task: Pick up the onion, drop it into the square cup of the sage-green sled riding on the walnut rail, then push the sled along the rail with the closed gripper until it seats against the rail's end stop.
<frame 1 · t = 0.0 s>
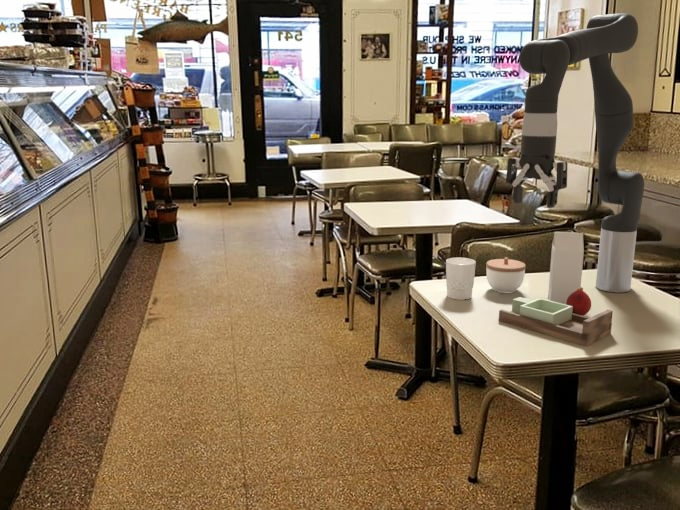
hand: (534, 205, 156), 29 cm above the table, tool pointing down, fingers open, 8 cm apart
onion: (577, 319, 168), on the table
milk carton: (562, 303, 180), on the table
sled: (538, 310, 164), point 3 cm above the table, slide at 0.0 cm
white cup: (459, 297, 185), on the table
lidded jar: (504, 290, 191), on the table
rail: (553, 326, 162), on the table
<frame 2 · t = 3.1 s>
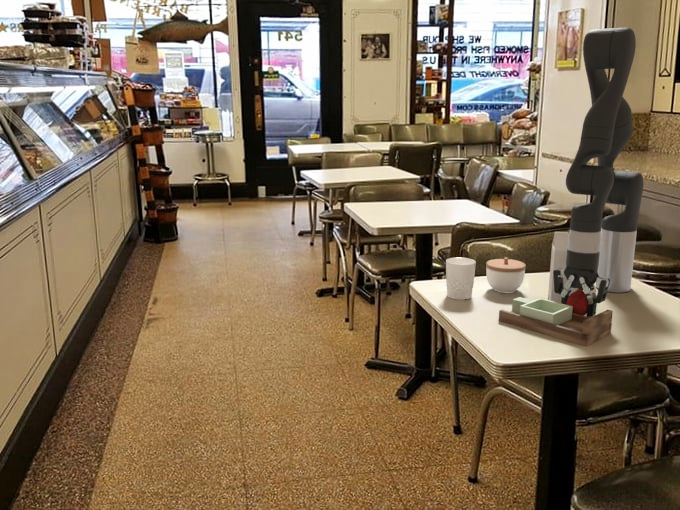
hand: (577, 314, 168), 1 cm above the table, tool pointing down, fingers closed on onion, 6 cm apart
onion: (577, 319, 168), on the table, touching gripper
everything else where it was.
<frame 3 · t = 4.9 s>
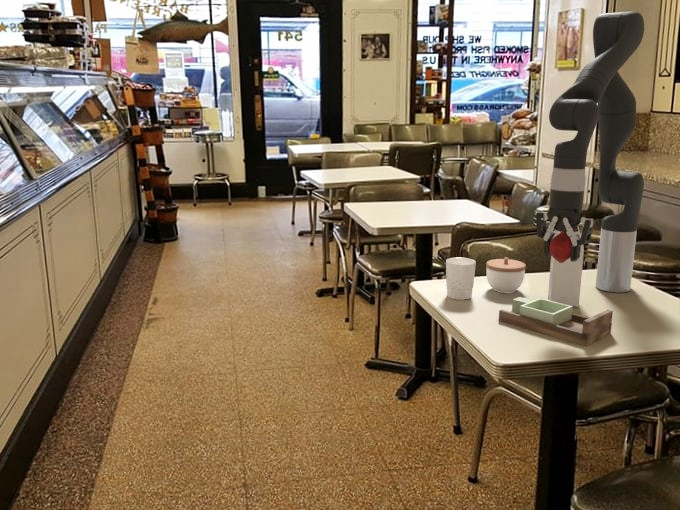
hand: (560, 258, 160), 16 cm above the table, tool pointing down, fingers closed on onion, 6 cm apart
onion: (560, 263, 161), point 15 cm above the table, touching gripper
everything else where it was.
when the fingers open (5 cm above the table, at t = 6.8 s): onion drops 2 cm, resting on sled.
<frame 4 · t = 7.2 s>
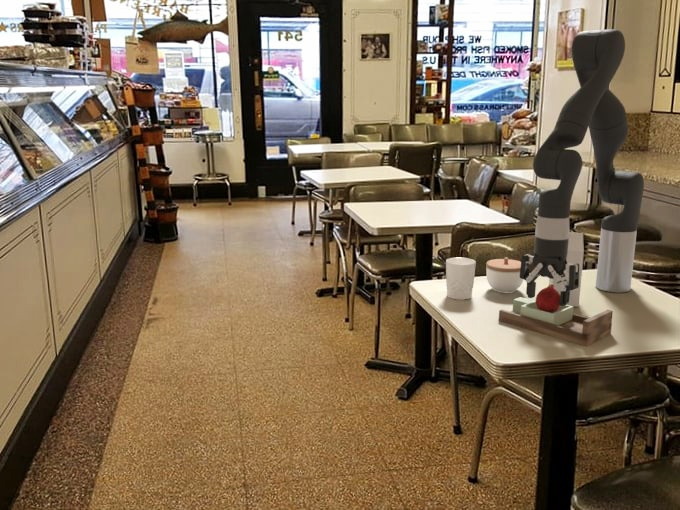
hand: (546, 301, 162), 6 cm above the table, tool pointing down, fingers open, 8 cm apart
onion: (546, 315, 163), point 2 cm above the table, touching sled
sled: (539, 310, 164), point 3 cm above the table, slide at 0.2 cm, touching onion
everything else where it was.
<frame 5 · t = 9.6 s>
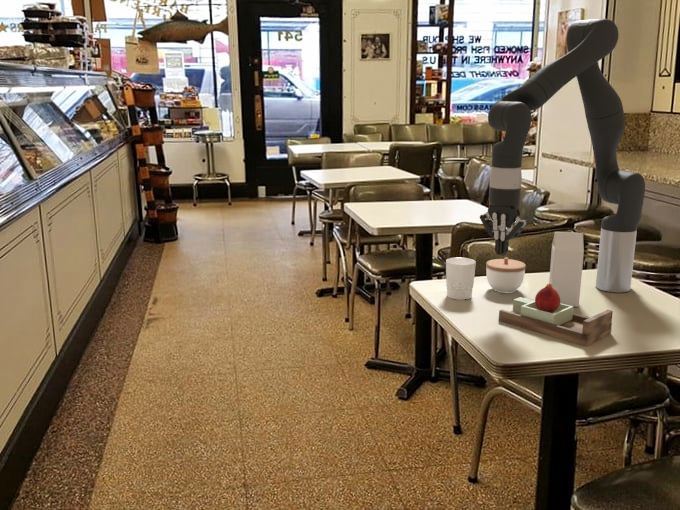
hand: (501, 254, 169), 15 cm above the table, tool pointing down, fingers closed
nothing on the table moved.
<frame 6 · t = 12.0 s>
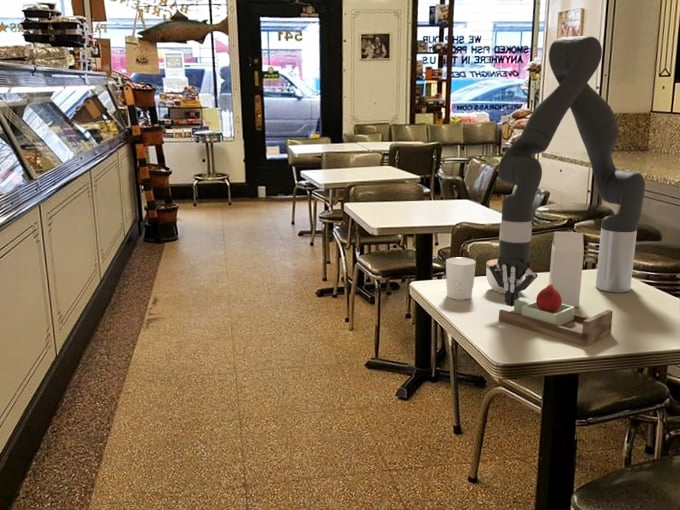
hand: (510, 305, 170), 2 cm above the table, tool pointing down, fingers closed
sled: (540, 310, 164), point 3 cm above the table, slide at 0.6 cm, touching gripper, onion
everything else where it was.
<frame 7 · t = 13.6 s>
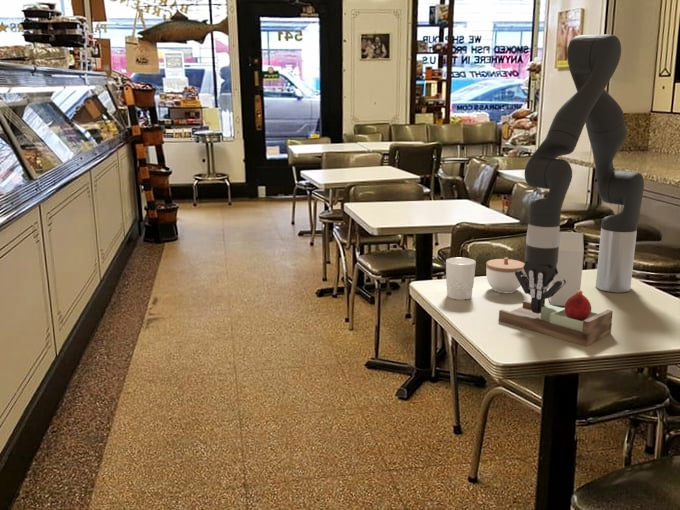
hand: (537, 312, 165), 2 cm above the table, tool pointing down, fingers closed
onion: (576, 324, 157), point 2 cm above the table, touching sled
sled: (568, 318, 158), point 3 cm above the table, slide at 8.0 cm, touching gripper, onion, rail
everything else where it was.
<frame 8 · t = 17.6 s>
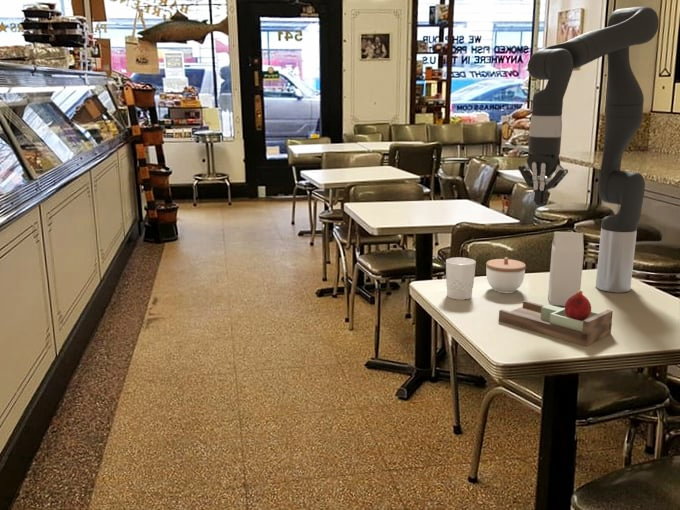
hand: (540, 204, 169), 27 cm above the table, tool pointing down, fingers closed
sled: (568, 318, 158), point 3 cm above the table, slide at 8.0 cm, touching onion
everything else where it was.
at the end: sled slide at 8.0 cm; onion inside the target area on the sled (0.1 cm from its centre), point 2.1 cm above the sled's base; the gripper is holding nothing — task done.
